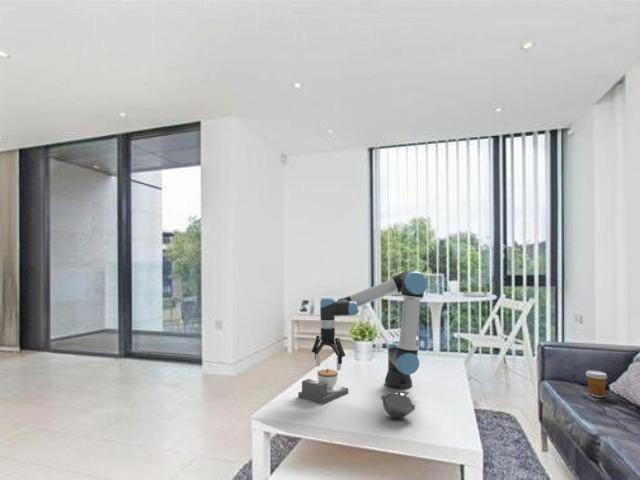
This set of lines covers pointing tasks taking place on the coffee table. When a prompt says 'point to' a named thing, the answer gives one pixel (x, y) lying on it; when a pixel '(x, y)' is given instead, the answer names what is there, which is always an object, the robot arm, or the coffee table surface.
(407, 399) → the piggy bank
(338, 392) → the scale
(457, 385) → the coffee table surface
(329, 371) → the lidded jar
